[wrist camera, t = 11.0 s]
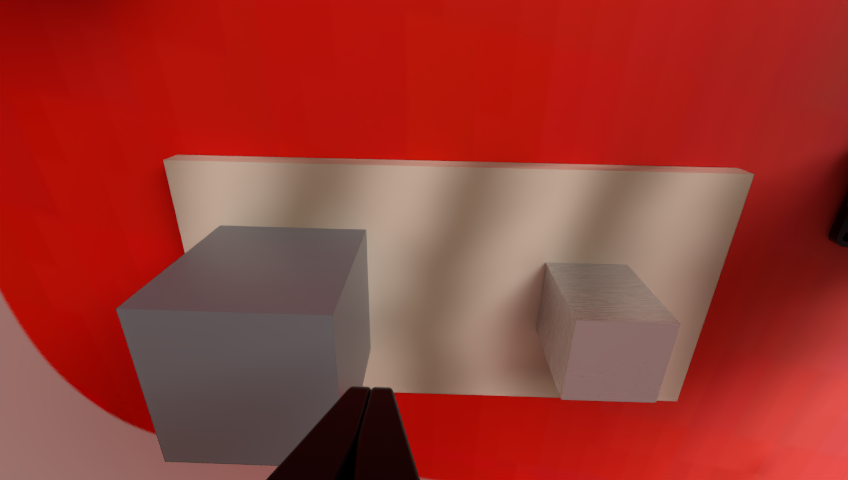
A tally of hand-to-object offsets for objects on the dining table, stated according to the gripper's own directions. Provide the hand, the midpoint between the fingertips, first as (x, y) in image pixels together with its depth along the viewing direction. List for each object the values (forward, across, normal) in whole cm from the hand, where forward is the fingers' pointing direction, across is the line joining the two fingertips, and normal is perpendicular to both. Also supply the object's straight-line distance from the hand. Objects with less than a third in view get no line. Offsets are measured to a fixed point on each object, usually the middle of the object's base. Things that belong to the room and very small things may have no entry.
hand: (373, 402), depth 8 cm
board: (+12, -2, +4) cm, 12 cm away
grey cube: (+11, -8, +4) cm, 14 cm away
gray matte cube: (+10, +5, +4) cm, 12 cm away
